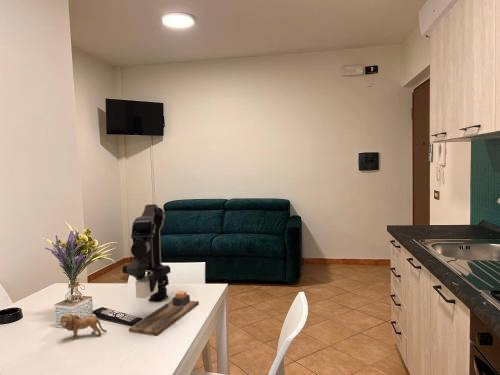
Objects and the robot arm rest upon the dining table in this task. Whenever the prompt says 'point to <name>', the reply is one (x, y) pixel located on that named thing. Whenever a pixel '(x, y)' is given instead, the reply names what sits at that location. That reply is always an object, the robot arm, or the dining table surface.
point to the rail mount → (164, 316)
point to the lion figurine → (80, 324)
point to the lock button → (180, 294)
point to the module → (144, 288)
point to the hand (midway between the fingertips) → (147, 291)
